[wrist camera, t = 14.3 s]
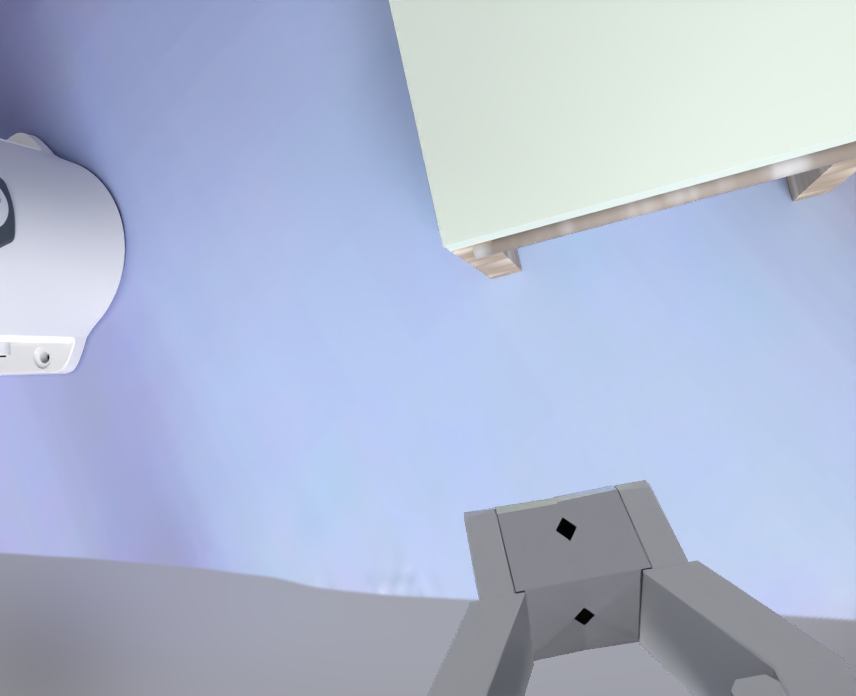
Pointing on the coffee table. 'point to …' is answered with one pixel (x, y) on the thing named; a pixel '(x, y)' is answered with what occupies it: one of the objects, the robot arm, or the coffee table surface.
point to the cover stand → (672, 204)
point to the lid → (614, 99)
